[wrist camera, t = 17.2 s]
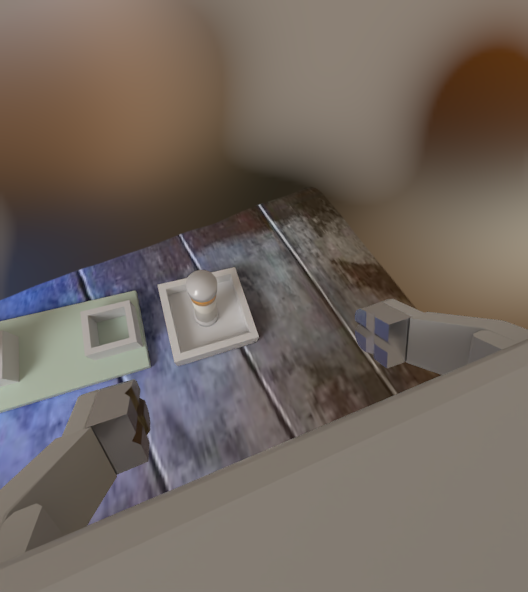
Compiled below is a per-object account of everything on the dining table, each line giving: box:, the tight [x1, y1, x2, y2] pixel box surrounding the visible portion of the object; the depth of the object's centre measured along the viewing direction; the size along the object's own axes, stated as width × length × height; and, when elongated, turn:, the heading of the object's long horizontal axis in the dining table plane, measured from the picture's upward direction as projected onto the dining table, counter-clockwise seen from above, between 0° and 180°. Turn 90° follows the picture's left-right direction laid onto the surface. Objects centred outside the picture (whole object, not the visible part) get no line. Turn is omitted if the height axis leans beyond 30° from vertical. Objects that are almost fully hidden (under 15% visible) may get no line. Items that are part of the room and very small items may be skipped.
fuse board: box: [0, 291, 151, 413], centre depth 36 cm, size 12×22×4 cm, turn 109°
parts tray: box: [158, 267, 259, 366], centre depth 41 cm, size 12×12×3 cm
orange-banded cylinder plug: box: [186, 270, 218, 327], centre depth 37 cm, size 4×4×11 cm
